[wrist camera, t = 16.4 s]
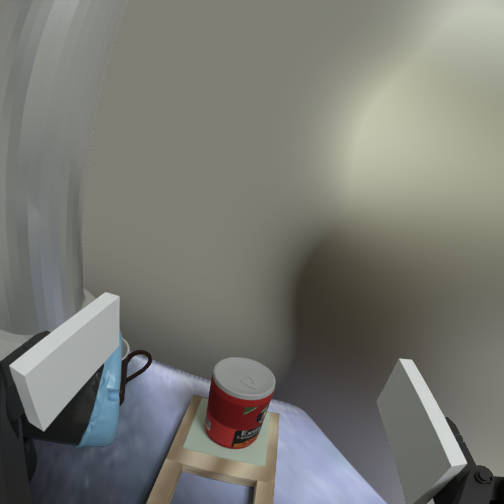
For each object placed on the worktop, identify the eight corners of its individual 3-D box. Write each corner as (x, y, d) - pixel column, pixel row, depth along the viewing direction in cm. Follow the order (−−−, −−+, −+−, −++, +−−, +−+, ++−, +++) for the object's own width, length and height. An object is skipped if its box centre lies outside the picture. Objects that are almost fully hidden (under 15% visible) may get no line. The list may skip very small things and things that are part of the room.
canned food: (238, 459, 32) (255, 405, 30) (192, 429, 36) (199, 372, 34) (267, 430, 39) (287, 375, 36) (224, 405, 43) (236, 349, 40)
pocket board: (136, 533, 19) (135, 527, 19) (192, 402, 44) (193, 393, 44) (262, 562, 18) (267, 558, 18) (276, 421, 44) (279, 412, 43)
